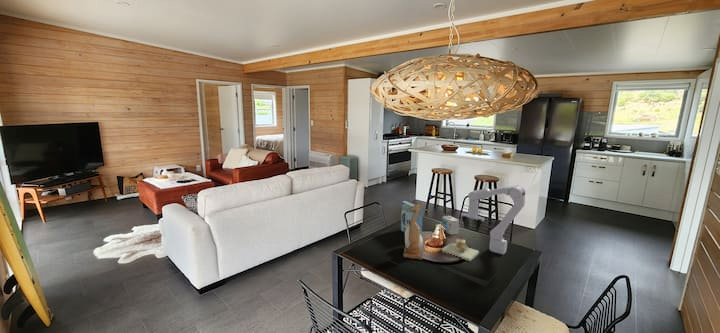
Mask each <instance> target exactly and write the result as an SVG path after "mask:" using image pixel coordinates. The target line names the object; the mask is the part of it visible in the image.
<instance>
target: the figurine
mask: <svg viewBox="0 0 720 333" xmlns="http://www.w3.org/2000/svg"><path fill="white" fill-rule="evenodd" d="M404 243H405V245H406V246H405V247H406V248H408V247H409V246H410V244H411V243H410V241H409V227H408V228H406V231H405V232H404ZM423 243H424V240H423V236H421V234H420V240H419V248H418V249H422V246H423Z"/></svg>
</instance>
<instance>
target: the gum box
mask: <svg viewBox="0 0 720 333" xmlns="http://www.w3.org/2000/svg"><path fill="white" fill-rule="evenodd" d="M414 205H416V203H415V204H414V203H413V202H410V201H408V200H403V201H401V220H400V230H401V232H403V233H405V231H406V228H408V227H410V222H411V219H412V217H413V215H414V213H415V211H411V207H412V206H414ZM423 210H424V207H421V209H420V211H419V213H418V216H417V219H416V223H417V224H418V226H419V227H420V234H421V236H422V234H423V213H424V211H423ZM422 237H423V236H422Z"/></svg>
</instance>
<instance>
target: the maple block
mask: <svg viewBox="0 0 720 333" xmlns="http://www.w3.org/2000/svg"><path fill="white" fill-rule="evenodd" d="M455 244H456V251H458V252H465V247H466V239H463V238H461V239H460V238H456V243H455Z"/></svg>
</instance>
